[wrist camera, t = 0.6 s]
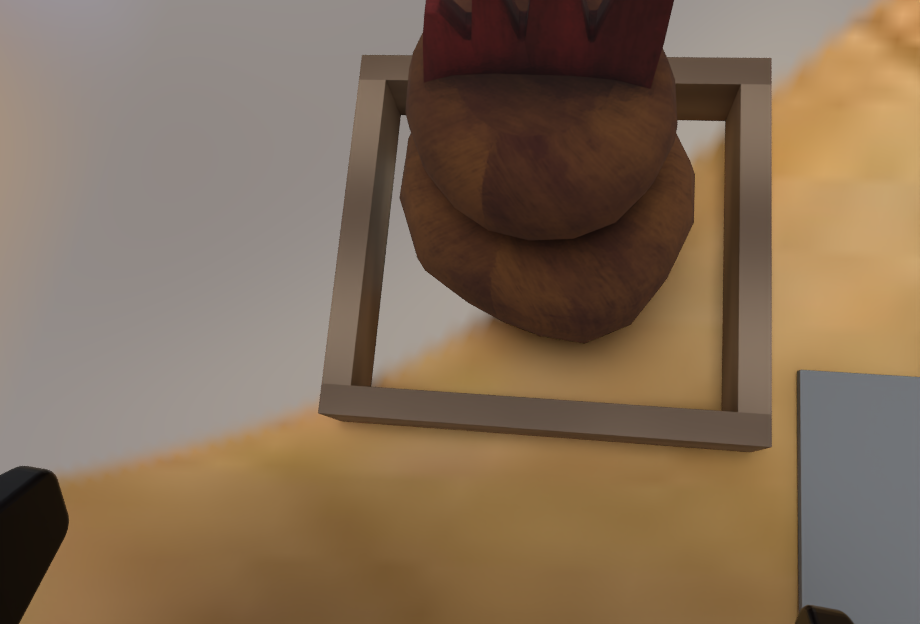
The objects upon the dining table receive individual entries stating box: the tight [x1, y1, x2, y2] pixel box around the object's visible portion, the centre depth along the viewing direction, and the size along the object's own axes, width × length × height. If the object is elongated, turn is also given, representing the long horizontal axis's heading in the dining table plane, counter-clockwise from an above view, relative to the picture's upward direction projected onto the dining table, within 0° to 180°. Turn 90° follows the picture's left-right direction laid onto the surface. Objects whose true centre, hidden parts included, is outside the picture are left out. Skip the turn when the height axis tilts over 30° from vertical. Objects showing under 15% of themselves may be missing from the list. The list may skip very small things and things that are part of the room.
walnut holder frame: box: [318, 55, 772, 452], centre depth 23 cm, size 11×12×2 cm
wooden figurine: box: [400, 0, 695, 343], centre depth 17 cm, size 7×6×15 cm
